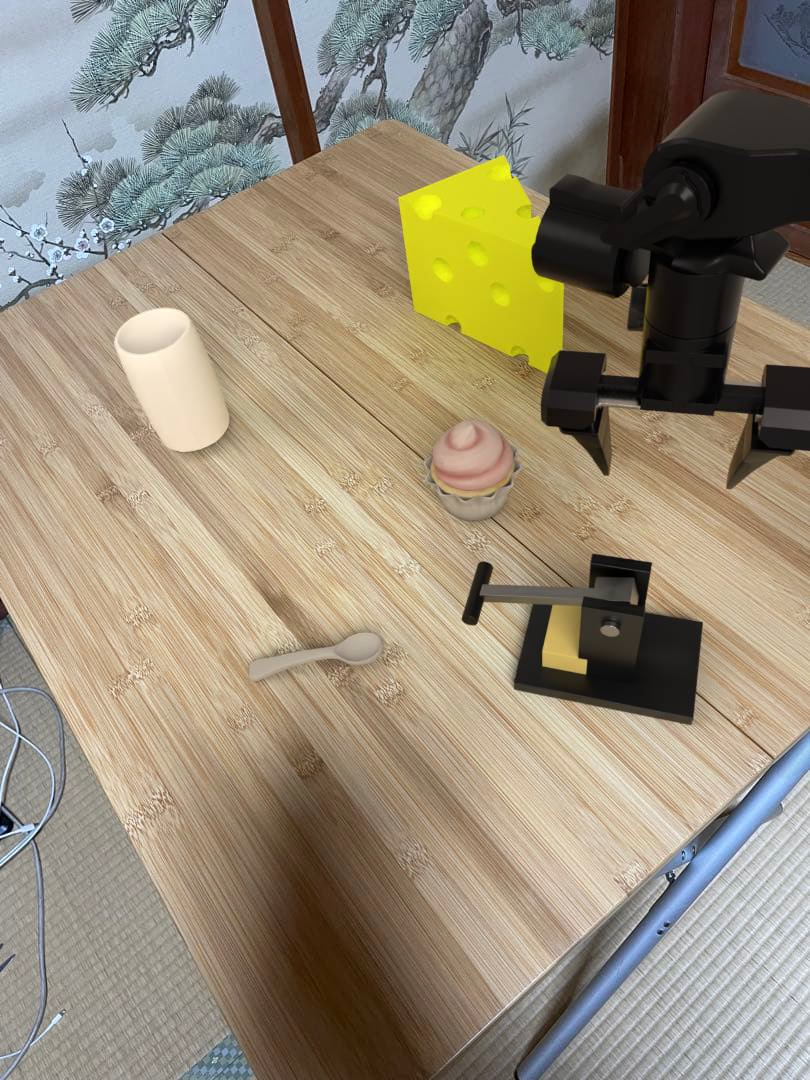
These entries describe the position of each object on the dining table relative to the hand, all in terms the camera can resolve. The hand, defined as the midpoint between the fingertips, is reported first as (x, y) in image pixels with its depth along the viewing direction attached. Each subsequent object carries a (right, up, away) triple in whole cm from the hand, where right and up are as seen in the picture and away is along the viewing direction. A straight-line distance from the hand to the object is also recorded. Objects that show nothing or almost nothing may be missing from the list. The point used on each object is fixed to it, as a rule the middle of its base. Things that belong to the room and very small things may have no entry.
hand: (666, 478), depth 65 cm
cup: (-44, +7, +28) cm, 52 cm away
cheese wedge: (-10, +21, +34) cm, 41 cm away
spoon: (-28, -16, +7) cm, 33 cm away
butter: (-7, -14, +4) cm, 16 cm away
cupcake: (-14, -1, +17) cm, 21 cm away
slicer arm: (-9, -10, 0) cm, 13 cm away
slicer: (-4, -15, +4) cm, 16 cm away
